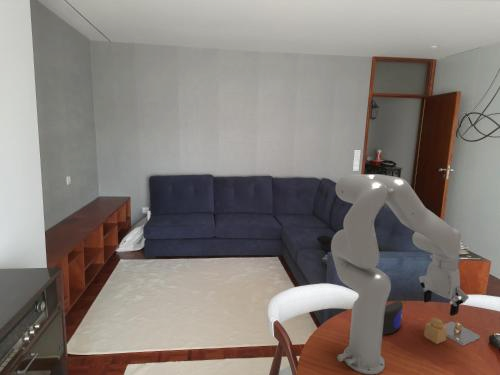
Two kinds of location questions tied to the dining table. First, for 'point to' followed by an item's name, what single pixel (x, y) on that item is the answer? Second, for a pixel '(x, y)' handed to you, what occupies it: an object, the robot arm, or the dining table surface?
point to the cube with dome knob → (435, 331)
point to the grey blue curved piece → (392, 317)
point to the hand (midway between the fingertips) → (439, 307)
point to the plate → (460, 333)
